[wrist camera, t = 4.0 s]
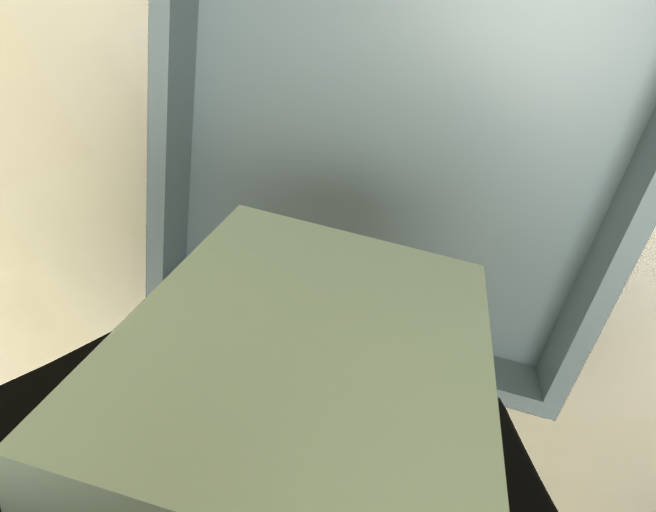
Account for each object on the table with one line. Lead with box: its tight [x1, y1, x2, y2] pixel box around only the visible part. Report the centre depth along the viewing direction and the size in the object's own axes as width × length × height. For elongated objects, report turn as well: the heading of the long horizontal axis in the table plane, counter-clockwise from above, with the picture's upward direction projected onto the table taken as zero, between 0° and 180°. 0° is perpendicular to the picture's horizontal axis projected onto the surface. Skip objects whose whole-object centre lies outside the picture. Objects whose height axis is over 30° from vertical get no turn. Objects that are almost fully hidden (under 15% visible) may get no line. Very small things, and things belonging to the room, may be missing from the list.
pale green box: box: [0, 205, 509, 512], centre depth 8 cm, size 4×4×6 cm
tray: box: [146, 0, 656, 421], centre depth 14 cm, size 21×14×2 cm
